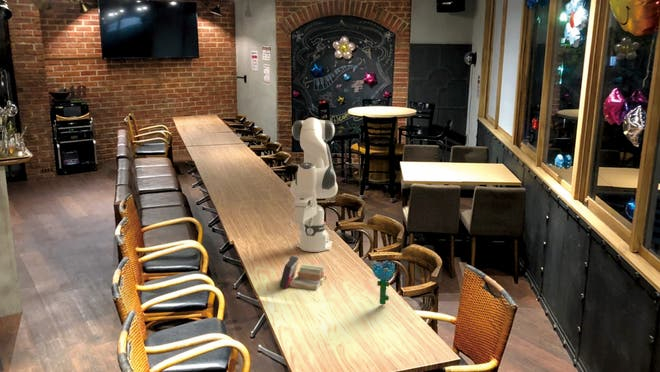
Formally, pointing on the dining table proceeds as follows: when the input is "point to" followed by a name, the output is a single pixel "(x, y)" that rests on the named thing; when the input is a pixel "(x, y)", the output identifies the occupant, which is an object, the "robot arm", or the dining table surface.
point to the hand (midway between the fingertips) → (306, 228)
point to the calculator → (289, 272)
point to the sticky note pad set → (309, 277)
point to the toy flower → (383, 278)
